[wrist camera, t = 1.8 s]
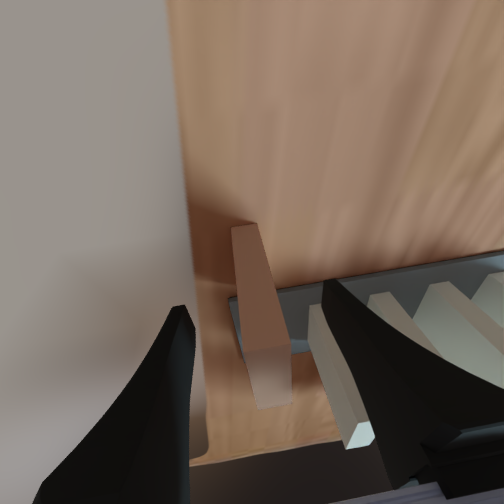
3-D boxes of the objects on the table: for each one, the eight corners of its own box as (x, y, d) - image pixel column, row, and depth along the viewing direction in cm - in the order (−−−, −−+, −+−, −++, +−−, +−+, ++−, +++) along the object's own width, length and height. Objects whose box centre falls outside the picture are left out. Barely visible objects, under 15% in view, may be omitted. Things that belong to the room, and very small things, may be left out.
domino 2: (389, 291, 19) (478, 400, 12) (376, 328, 22) (442, 430, 15) (370, 294, 19) (449, 405, 12) (359, 330, 22) (419, 435, 15)
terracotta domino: (256, 223, 14) (291, 343, 8) (263, 282, 17) (292, 403, 11) (230, 227, 14) (243, 352, 8) (242, 285, 17) (257, 410, 11)
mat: (566, 239, 18) (572, 242, 18) (504, 312, 24) (508, 315, 24) (228, 298, 18) (228, 302, 17) (244, 359, 23) (244, 363, 23)
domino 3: (448, 281, 19) (566, 383, 13) (427, 318, 22) (513, 416, 16) (429, 284, 19) (538, 388, 13) (411, 321, 22) (491, 421, 16)
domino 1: (329, 302, 19) (387, 417, 12) (324, 337, 22) (369, 444, 15) (309, 305, 19) (358, 423, 12) (307, 340, 22) (345, 449, 15)
